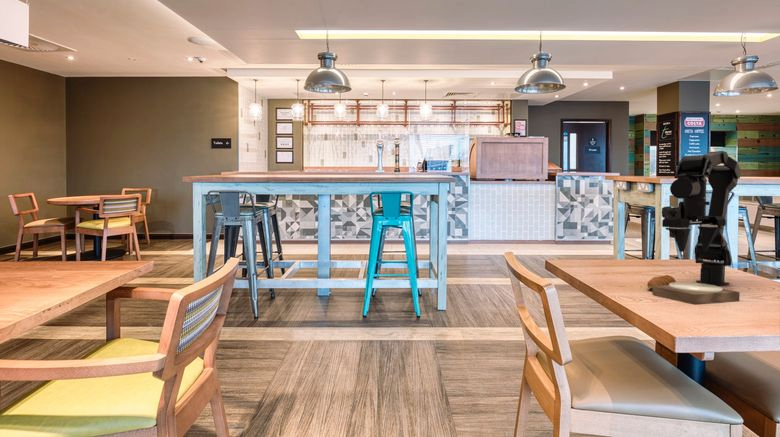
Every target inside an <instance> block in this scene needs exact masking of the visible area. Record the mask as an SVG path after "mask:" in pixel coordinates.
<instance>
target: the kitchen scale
mask: <svg viewBox="0 0 780 437" xmlns="http://www.w3.org/2000/svg"><path fill="white" fill-rule="evenodd" d="M740 292H741V291H738V290H732V289H726V288H723V287H722V286H719V285H712V284H706V283H700V282H691V281H690V282H687V281H685V282H684V281H676V282H673V283H669V285H663V286H653V288H652V296H656V297H661V298H665V299H668V300H674V301H678V302H682V303H688V304H692V305H703V304H715V303H717V304H718V303H727V302H731V303H732V302H740Z"/></svg>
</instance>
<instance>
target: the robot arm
mask: <svg viewBox="0 0 780 437" xmlns="http://www.w3.org/2000/svg"><path fill="white" fill-rule="evenodd" d="M740 178H741V168H740V165H739V163H738V161H737V160H735V158H734V159H733V157H730V156H729V155H728V152H727V151H724V150H718V151H717V150H716V151H715V150H714V151H709V152H707V153H704V154H698V155H697V154H696V155H684V156H682V157H681V159H680V160H679V161H678V164H677V168H676V170H675V174H674V179H675V180H673V182H672V183H671V185H670V187H669V190H670V194H671V195H672V196H673V197H674V198H676V199H680V200H681V199H682V201H679V202H678V207H671V206H664V207H662V208H661V217H662V218H663V219H662V220H661V225H662V226H661V227H662V228H665V230H666V231H669V232H670V233H671V234H672V236H673V238H674V240H675V244H676V246H677V248H678V250H679V252H681V253H684V252H685V250H686V247H687V243H688V238H689V235H690V232H691V228H689V227H690V226H697V228H698V230H699V231H700V233H699V235H697V242H696V244H695V245H694V257H695V258H694V260H695V264H700V272H699V273H700V274H699V275H700V276H699V279H698V280H697V279H696V281H695V283H702V284H709V285H715V286H719V285H720V286H721V285H722V286H723V285H730V282H728V281H727V282H726V281H725V279H726V278H725V277H726V275H725V274H726V267H729V266H730V267H732V263H733V261H732V260H733V259H732V256H731V252H730V250H729V247H728V245H729V244H728V241H727V239H726V238H725V236H724V229H725V227H726V225H727V224H726V223H727V219H726V217H727V216H726V215H727V210H728V204H729V198H730V193H731V192H732V191H733V190H734V189H735V188H736V187H737V186H738V180H739V179H740ZM707 182H708V183H709V185H710V187H711V189H712V190H711V197H710V201H707ZM707 206H709V207H708V215H707ZM698 225H699V226H698Z"/></svg>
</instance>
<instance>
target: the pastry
mask: <svg viewBox="0 0 780 437" xmlns="http://www.w3.org/2000/svg"><path fill="white" fill-rule="evenodd" d="M673 282H677V281H676V279H675V278H674V276H671V275H668V274H666V275H658V276H654V277H651V279H650V280H648V282H647V284H646V285H647V289H649V288H651V289H653V286H663V285H669V283H673Z"/></svg>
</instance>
